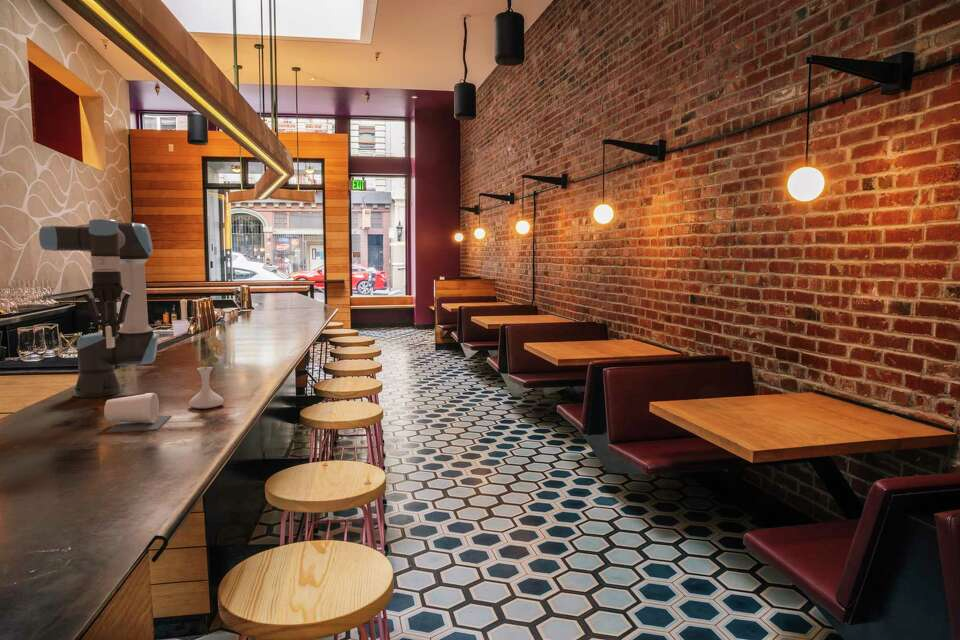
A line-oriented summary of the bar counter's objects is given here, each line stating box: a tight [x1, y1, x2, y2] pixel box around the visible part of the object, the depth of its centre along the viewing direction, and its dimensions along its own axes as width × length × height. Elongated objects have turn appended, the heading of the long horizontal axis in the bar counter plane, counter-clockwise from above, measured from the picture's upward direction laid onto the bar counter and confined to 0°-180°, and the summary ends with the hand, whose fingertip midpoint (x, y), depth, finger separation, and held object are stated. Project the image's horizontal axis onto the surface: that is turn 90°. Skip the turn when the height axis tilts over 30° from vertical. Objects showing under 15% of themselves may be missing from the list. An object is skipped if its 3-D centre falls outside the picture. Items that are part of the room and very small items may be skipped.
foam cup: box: [103, 392, 160, 424], centre depth 189 cm, size 10×9×13 cm
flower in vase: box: [187, 334, 226, 409], centre depth 212 cm, size 13×11×25 cm
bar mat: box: [105, 414, 172, 434], centre depth 191 cm, size 16×14×1 cm
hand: (110, 347), depth 188 cm, fingers closed
